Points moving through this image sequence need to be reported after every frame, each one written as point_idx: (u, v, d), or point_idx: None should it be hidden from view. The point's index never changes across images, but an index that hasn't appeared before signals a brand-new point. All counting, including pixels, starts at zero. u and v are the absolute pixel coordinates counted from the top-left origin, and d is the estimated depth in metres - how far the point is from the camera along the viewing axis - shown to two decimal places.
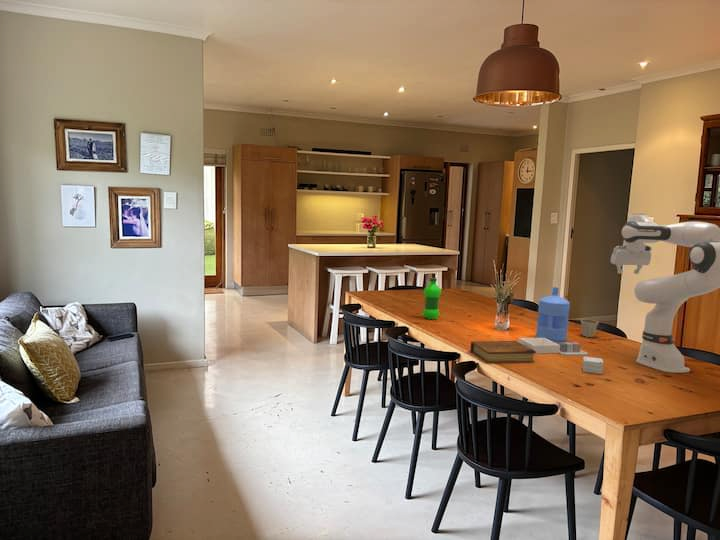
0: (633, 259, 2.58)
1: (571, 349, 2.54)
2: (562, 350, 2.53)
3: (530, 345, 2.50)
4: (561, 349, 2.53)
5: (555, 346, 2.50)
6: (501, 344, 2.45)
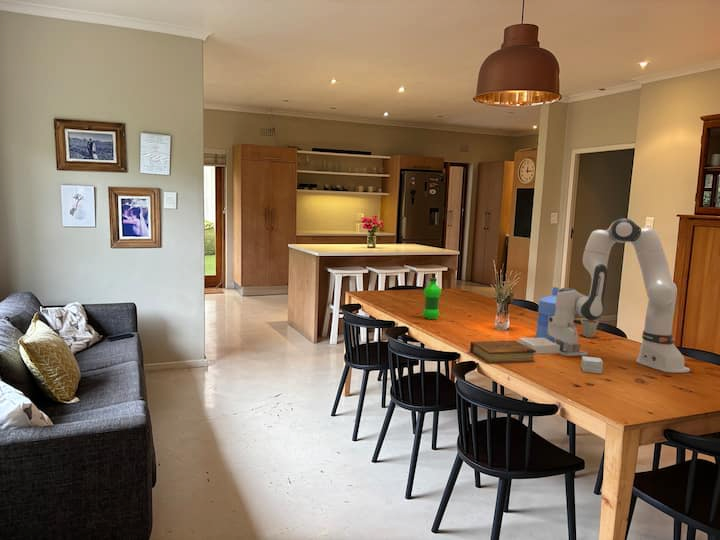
0: None
1: (571, 349, 2.54)
2: (562, 350, 2.53)
3: (530, 345, 2.50)
4: (561, 349, 2.53)
5: (555, 346, 2.50)
6: (501, 344, 2.45)
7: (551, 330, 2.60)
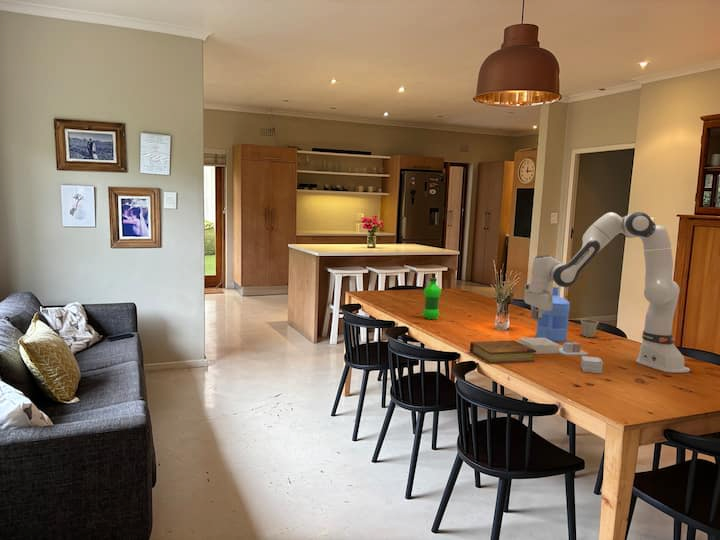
0: None
1: (571, 349, 2.54)
2: (537, 317, 2.53)
3: (530, 345, 2.50)
4: (536, 316, 2.52)
5: (555, 346, 2.50)
6: (501, 344, 2.45)
7: (527, 298, 2.60)
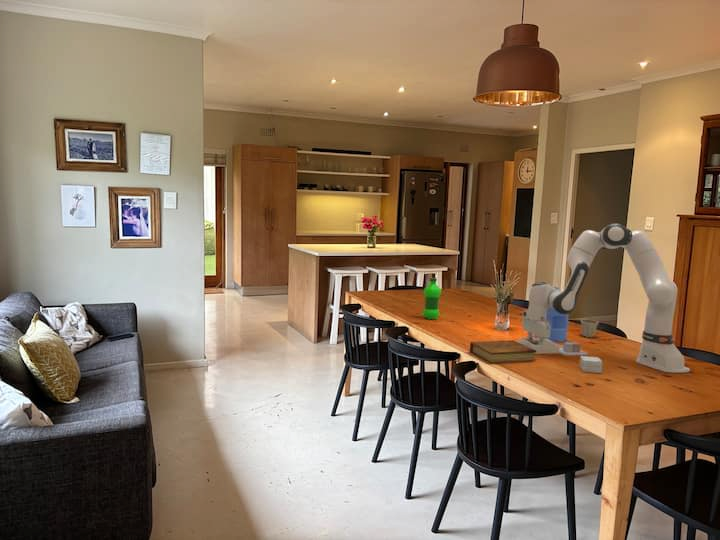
0: None
1: (571, 349, 2.54)
2: None
3: (530, 345, 2.50)
4: None
5: (555, 346, 2.50)
6: (500, 344, 2.45)
7: (525, 324, 2.61)
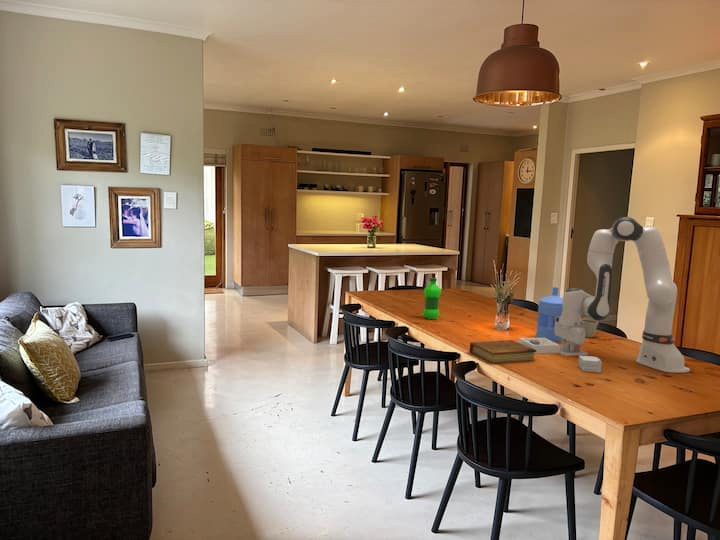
0: None
1: None
2: None
3: (530, 345, 2.50)
4: None
5: (555, 346, 2.50)
6: (500, 344, 2.45)
7: (558, 330, 2.61)
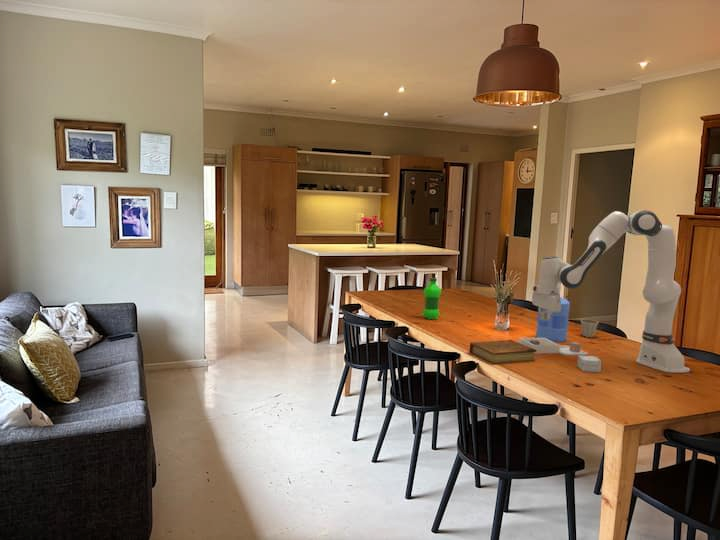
0: None
1: None
2: None
3: (530, 345, 2.50)
4: None
5: (555, 346, 2.50)
6: (500, 344, 2.45)
7: (535, 299, 2.60)
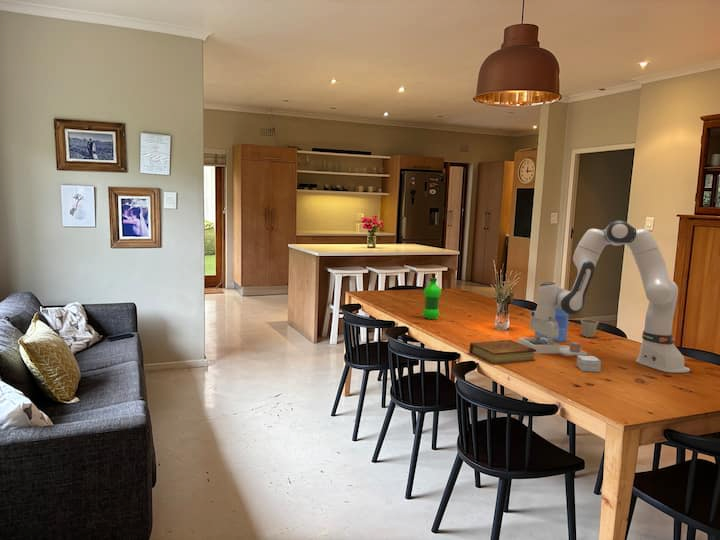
0: None
1: None
2: None
3: (530, 345, 2.50)
4: None
5: (555, 346, 2.50)
6: (500, 344, 2.45)
7: (533, 324, 2.62)
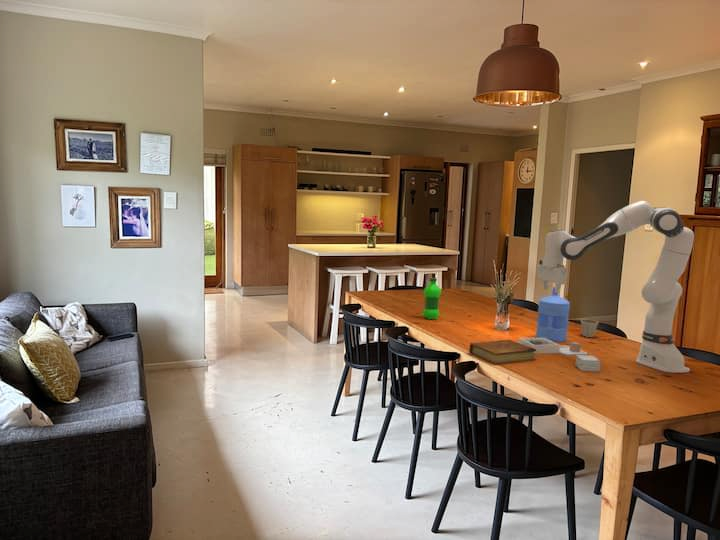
0: None
1: None
2: None
3: (530, 345, 2.50)
4: None
5: (555, 346, 2.50)
6: (500, 344, 2.45)
7: (541, 273, 2.62)
